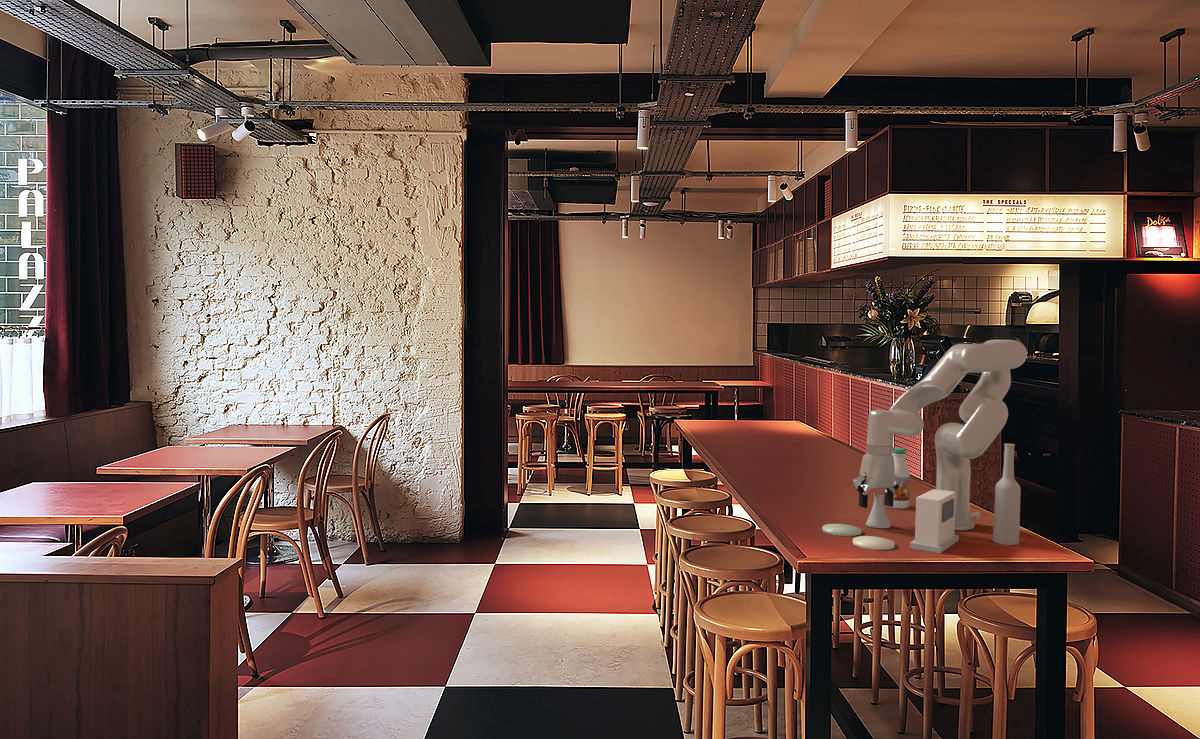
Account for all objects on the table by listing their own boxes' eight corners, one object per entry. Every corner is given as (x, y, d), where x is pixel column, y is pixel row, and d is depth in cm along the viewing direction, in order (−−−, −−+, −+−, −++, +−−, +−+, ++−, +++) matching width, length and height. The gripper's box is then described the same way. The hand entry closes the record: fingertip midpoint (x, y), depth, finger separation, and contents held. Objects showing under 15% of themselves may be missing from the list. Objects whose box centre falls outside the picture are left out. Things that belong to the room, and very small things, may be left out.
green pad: (844, 525, 244) (845, 522, 244) (869, 534, 234) (869, 531, 234) (814, 528, 240) (814, 525, 240) (838, 537, 230) (838, 534, 230)
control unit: (909, 548, 220) (911, 497, 219) (929, 535, 234) (931, 487, 233) (940, 553, 215) (941, 501, 214) (958, 540, 229) (960, 491, 228)
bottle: (1007, 546, 223) (1011, 446, 221) (987, 540, 229) (991, 443, 228) (1024, 544, 225) (1028, 445, 224) (1004, 538, 231) (1007, 442, 230)
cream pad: (875, 538, 230) (876, 534, 230) (903, 548, 220) (903, 544, 220) (844, 541, 226) (844, 537, 226) (870, 551, 216) (870, 548, 216)
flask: (892, 529, 240) (893, 496, 240) (867, 528, 241) (868, 495, 241) (888, 524, 247) (889, 492, 247) (864, 522, 249) (864, 490, 248)
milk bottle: (884, 508, 270) (886, 449, 269) (885, 503, 277) (887, 446, 276) (908, 510, 267) (910, 450, 266) (909, 505, 274) (911, 447, 273)
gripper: (893, 448, 250) (889, 503, 251) (848, 449, 244) (844, 504, 244) (910, 452, 243) (907, 508, 244) (864, 453, 237) (860, 510, 237)
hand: (875, 506), depth 244 cm, fingers open, 9 cm apart
